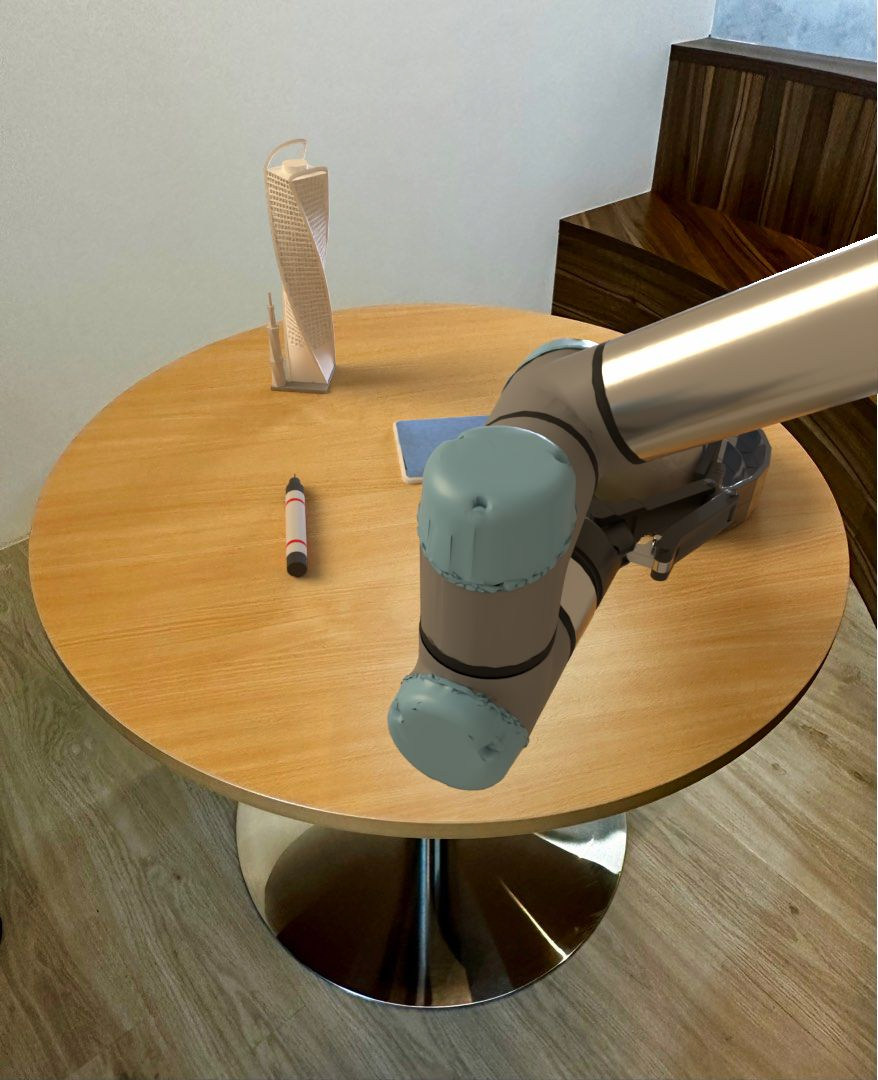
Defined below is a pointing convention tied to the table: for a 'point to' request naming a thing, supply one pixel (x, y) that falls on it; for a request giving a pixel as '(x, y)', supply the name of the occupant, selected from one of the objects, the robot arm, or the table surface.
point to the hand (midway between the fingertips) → (643, 425)
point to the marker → (295, 528)
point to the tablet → (427, 440)
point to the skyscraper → (300, 274)
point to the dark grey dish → (743, 470)
